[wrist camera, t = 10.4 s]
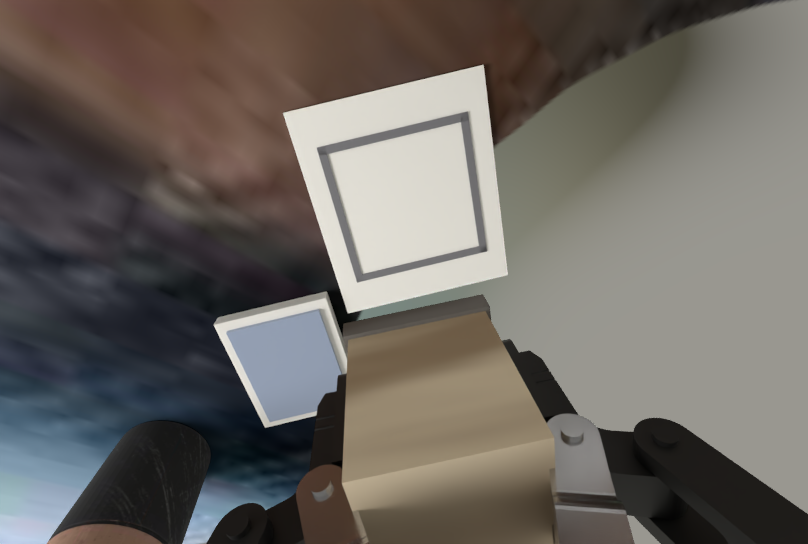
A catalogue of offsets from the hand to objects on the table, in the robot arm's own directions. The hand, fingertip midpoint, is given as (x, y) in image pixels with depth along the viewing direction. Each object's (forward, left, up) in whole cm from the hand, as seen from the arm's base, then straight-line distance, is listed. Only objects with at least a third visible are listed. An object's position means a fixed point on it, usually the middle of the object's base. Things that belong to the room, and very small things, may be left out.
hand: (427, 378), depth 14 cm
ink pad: (+8, -10, -15) cm, 20 cm away
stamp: (0, 0, -1) cm, 1 cm away
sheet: (-2, +1, -15) cm, 16 cm away
